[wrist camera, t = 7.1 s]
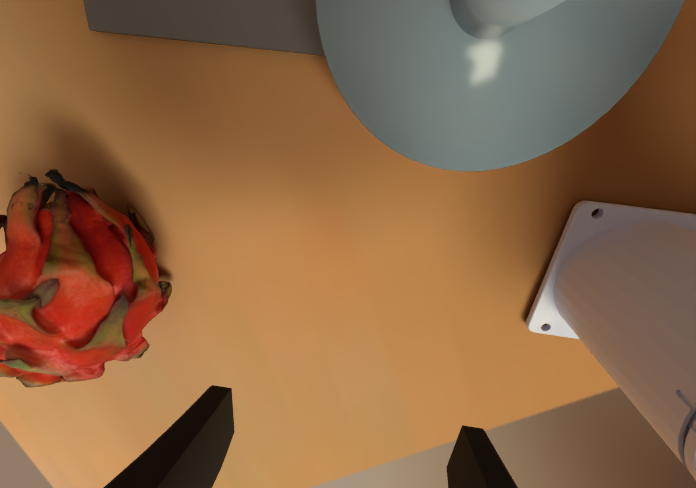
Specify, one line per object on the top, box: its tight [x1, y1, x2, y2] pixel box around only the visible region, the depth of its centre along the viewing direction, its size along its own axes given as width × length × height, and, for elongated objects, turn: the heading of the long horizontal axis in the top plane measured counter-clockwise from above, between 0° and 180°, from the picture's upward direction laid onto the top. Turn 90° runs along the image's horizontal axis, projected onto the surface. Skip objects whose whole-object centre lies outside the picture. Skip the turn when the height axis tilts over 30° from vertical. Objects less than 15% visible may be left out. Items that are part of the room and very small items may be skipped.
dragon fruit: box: [0, 169, 172, 387], centre depth 17 cm, size 8×8×12 cm
